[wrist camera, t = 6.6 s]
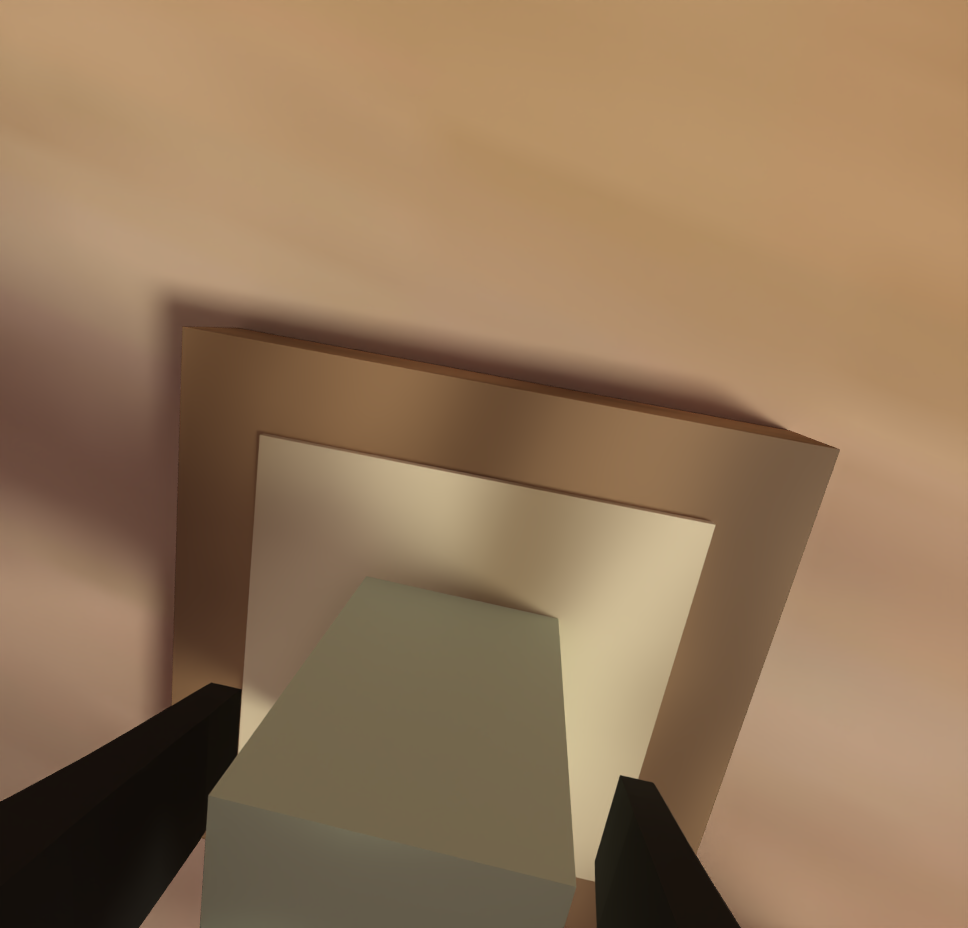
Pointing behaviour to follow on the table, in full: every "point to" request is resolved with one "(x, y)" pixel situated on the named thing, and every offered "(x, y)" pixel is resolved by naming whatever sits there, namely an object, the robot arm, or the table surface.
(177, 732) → the robot arm
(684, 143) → the table surface
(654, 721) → the plinth
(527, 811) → the sage block
